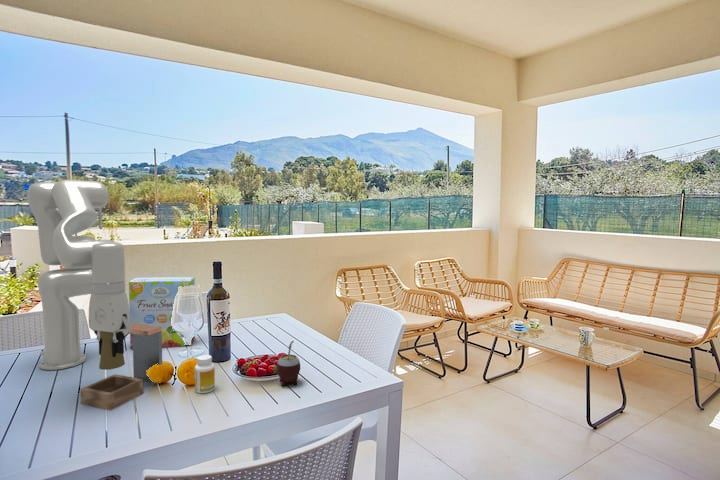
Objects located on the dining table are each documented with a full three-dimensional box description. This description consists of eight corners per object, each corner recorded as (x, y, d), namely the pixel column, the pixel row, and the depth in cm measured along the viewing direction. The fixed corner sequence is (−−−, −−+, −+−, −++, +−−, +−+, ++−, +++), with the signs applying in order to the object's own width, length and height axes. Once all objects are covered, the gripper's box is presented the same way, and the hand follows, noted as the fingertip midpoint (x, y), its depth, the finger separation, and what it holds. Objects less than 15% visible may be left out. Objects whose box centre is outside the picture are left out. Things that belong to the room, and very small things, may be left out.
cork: (112, 370, 106) (111, 329, 106) (93, 368, 108) (91, 328, 107) (130, 362, 112) (128, 323, 112) (111, 360, 114) (110, 322, 113)
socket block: (80, 403, 108) (80, 389, 107) (115, 387, 117) (114, 374, 117) (110, 410, 104) (109, 395, 104) (143, 393, 114) (142, 379, 114)
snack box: (129, 350, 147) (126, 281, 145) (136, 342, 156) (134, 277, 154) (192, 346, 152) (191, 279, 150) (196, 339, 161) (195, 275, 159)
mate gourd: (286, 376, 127) (286, 330, 126) (306, 381, 124) (307, 333, 122) (270, 385, 120) (270, 336, 119) (292, 391, 117) (292, 341, 116)
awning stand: (122, 384, 120) (120, 327, 118) (137, 377, 124) (135, 323, 123) (149, 389, 117) (147, 331, 115) (162, 382, 121) (161, 326, 120)
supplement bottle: (218, 387, 119) (218, 355, 118) (206, 395, 114) (205, 361, 113) (203, 384, 121) (203, 352, 120) (190, 392, 115) (190, 359, 115)
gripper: (72, 288, 107) (75, 355, 109) (120, 293, 102) (123, 363, 104) (98, 283, 115) (101, 346, 116) (144, 287, 109) (146, 353, 111)
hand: (111, 353), depth 110 cm, fingers closed on cork, 3 cm apart
